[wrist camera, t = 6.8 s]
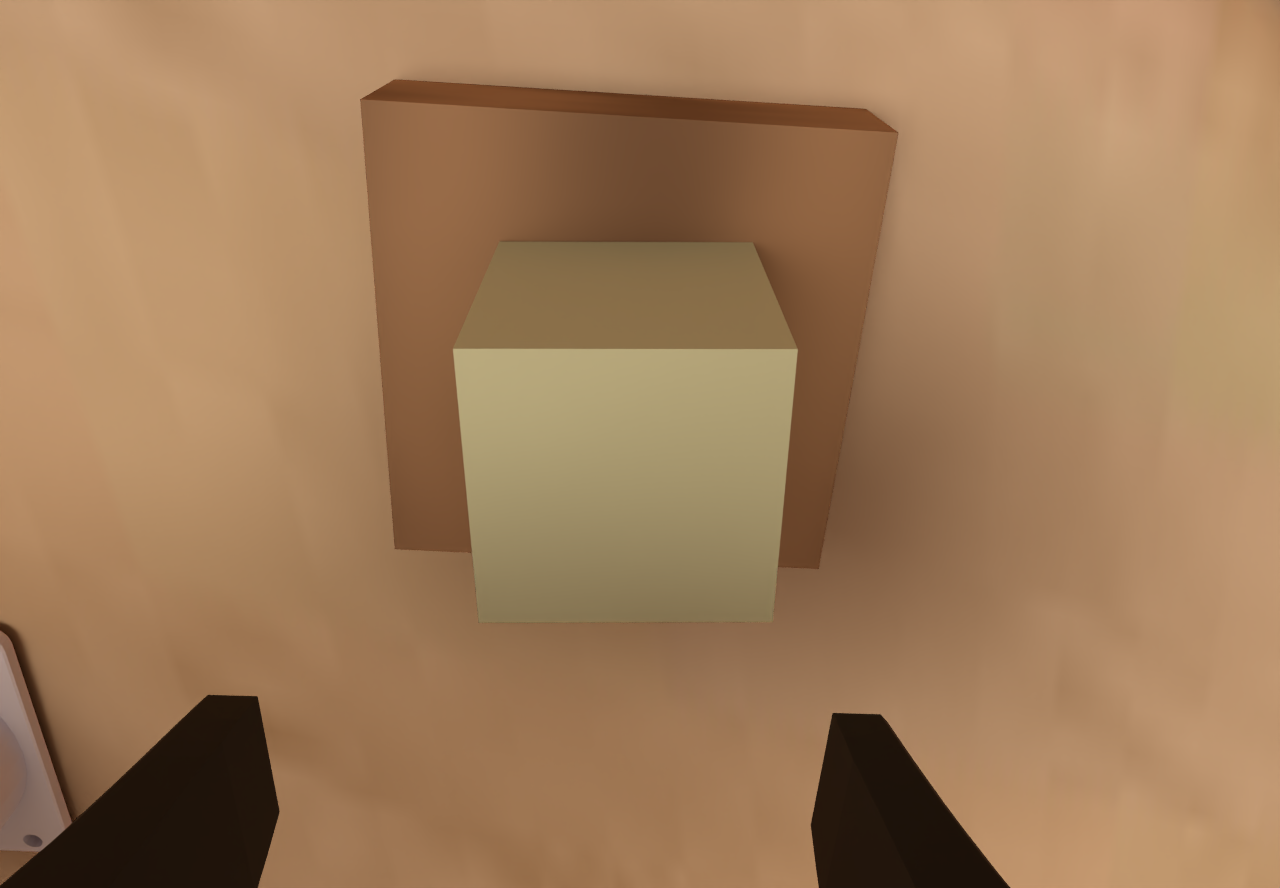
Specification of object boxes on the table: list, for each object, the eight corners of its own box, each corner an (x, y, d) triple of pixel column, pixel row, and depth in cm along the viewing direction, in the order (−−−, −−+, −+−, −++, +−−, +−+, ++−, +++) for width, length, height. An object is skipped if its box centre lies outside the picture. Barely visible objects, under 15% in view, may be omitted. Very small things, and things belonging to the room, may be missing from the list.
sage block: (513, 463, 19) (478, 622, 14) (499, 241, 17) (452, 348, 12) (738, 462, 19) (772, 622, 14) (753, 242, 17) (798, 349, 12)
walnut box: (423, 477, 22) (394, 549, 20) (399, 76, 18) (360, 99, 16) (796, 495, 23) (818, 568, 20) (861, 105, 18) (898, 133, 16)
